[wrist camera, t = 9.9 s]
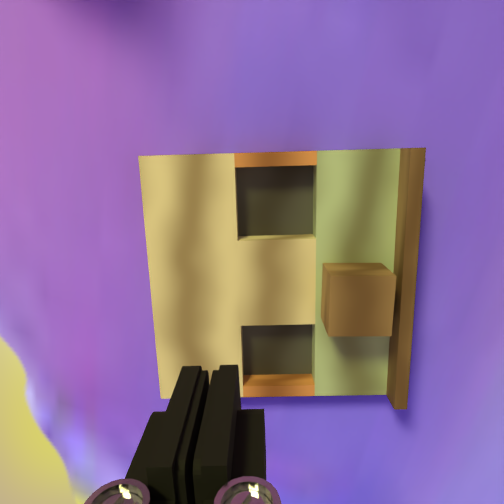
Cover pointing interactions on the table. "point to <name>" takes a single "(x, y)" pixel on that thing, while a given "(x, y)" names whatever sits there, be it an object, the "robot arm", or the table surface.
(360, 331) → the walnut block
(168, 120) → the table surface
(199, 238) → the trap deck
